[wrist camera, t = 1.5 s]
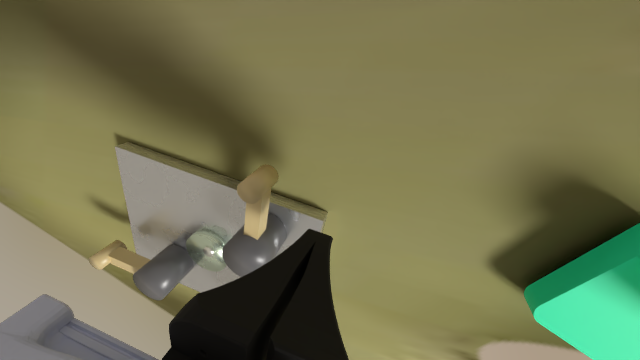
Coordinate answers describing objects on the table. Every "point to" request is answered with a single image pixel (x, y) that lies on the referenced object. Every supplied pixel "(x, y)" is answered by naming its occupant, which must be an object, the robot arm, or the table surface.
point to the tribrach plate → (195, 212)
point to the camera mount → (595, 299)
